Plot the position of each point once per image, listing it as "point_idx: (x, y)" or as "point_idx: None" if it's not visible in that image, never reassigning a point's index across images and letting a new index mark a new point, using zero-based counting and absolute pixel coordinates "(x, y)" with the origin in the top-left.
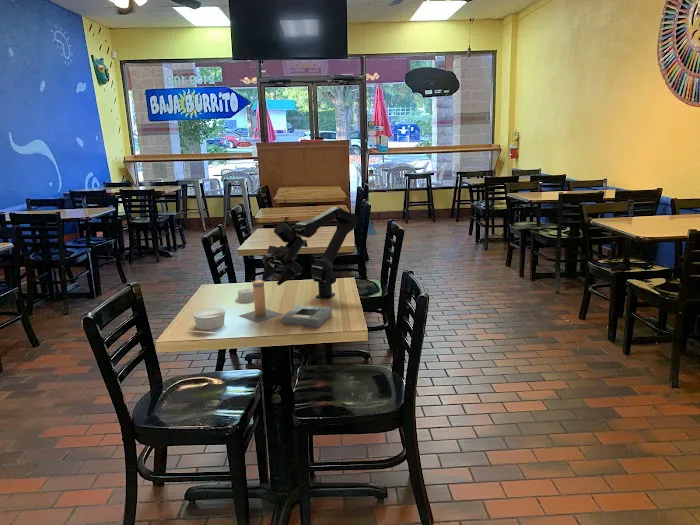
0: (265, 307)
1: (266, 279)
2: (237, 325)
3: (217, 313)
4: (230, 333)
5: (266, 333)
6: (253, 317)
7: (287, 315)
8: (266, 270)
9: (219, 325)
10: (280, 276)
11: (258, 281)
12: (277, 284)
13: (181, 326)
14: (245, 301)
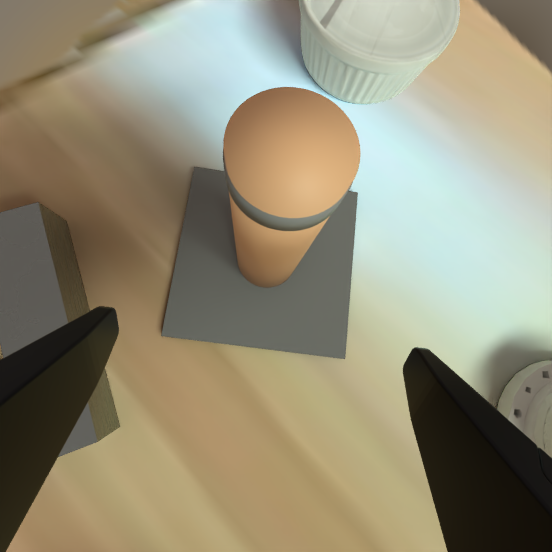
0: (243, 266)
1: (409, 407)
2: None
3: (338, 5)
4: (210, 37)
5: (60, 102)
6: None
7: (19, 239)
8: (519, 479)
9: (301, 43)
10: (28, 377)
11: (302, 157)
12: (113, 313)
13: None
14: (524, 377)
